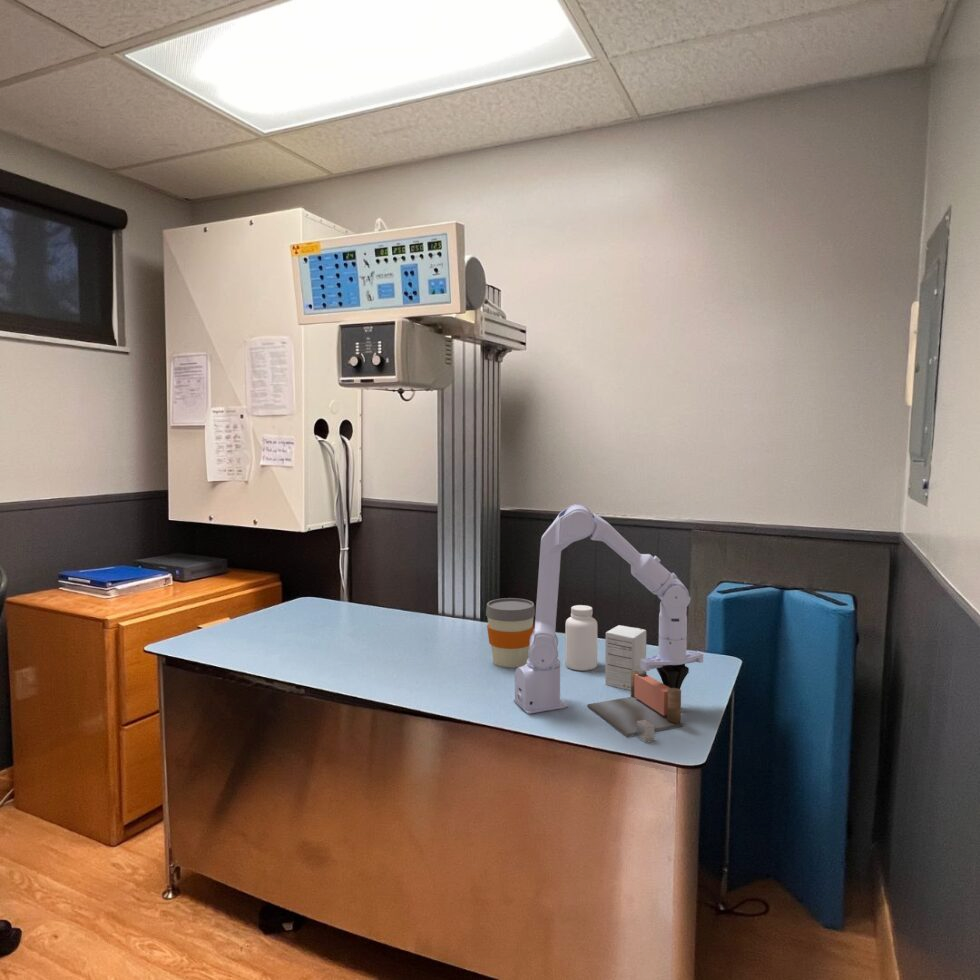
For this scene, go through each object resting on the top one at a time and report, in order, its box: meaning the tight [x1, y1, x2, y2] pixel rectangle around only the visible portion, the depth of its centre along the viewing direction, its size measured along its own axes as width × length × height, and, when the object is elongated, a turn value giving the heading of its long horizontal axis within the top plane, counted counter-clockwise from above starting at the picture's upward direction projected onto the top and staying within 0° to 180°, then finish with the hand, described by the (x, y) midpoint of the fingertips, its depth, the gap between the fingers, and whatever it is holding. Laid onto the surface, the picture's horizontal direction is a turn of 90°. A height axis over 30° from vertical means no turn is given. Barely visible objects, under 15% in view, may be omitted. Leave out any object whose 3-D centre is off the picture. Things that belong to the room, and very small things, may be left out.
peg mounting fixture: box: [586, 671, 684, 738], centre depth 143 cm, size 13×16×7 cm
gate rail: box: [634, 671, 669, 716], centre depth 146 cm, size 2×11×6 cm, turn 21°
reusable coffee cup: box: [485, 597, 536, 668], centre depth 177 cm, size 13×13×15 cm
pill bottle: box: [564, 604, 598, 672], centre depth 173 cm, size 8×8×15 cm
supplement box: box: [604, 624, 647, 691], centre depth 161 cm, size 7×7×13 cm
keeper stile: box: [636, 720, 655, 744], centre depth 133 cm, size 2×3×3 cm, turn 21°
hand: (671, 698), depth 147 cm, fingers closed
